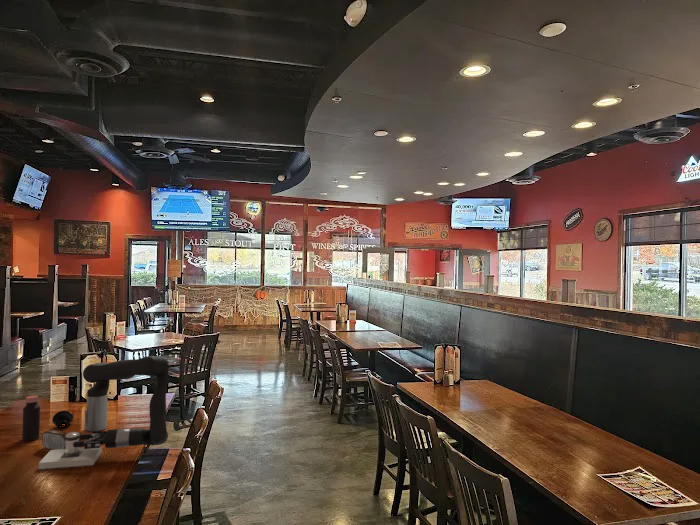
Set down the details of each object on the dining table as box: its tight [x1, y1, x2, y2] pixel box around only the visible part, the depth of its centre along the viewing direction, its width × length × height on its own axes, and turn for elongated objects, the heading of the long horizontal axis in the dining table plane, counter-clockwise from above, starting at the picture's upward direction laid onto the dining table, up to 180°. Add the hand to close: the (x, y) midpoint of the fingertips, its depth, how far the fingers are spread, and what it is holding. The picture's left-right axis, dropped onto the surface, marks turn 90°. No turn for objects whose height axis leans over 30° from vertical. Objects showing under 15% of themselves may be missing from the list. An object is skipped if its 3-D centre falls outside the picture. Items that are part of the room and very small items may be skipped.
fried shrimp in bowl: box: [51, 410, 75, 429], centre depth 249 cm, size 9×11×18 cm
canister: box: [65, 431, 81, 458], centre depth 203 cm, size 5×5×11 cm
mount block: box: [38, 446, 102, 471], centre depth 203 cm, size 20×14×3 cm
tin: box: [41, 428, 68, 450], centre depth 216 cm, size 15×3×8 cm, turn 71°
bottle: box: [21, 395, 41, 442], centre depth 228 cm, size 7×7×20 cm
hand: (77, 440), depth 204 cm, fingers open, 8 cm apart
